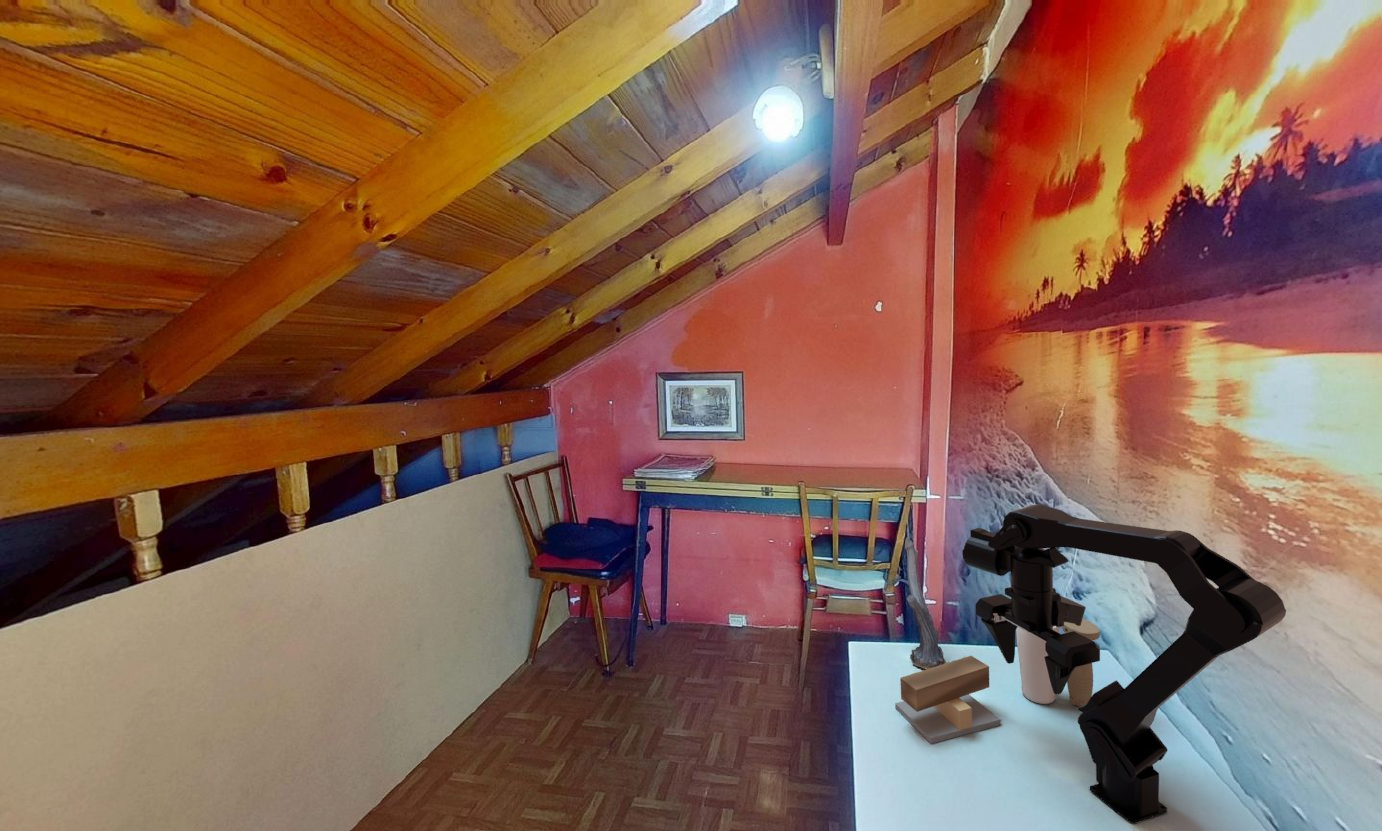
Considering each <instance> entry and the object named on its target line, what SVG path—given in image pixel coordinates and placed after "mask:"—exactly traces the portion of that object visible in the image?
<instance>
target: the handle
mask: <svg viewBox="0 0 1382 831" xmlns="http://www.w3.org/2000/svg"><path fill="white" fill-rule="evenodd" d="M1061 629H1062V630H1063V632H1064V633H1068V632H1073V631H1074V632H1076V633H1078V634H1080V635H1082V636H1084V637H1086V638H1088V639H1090V640H1092V641H1096V640H1098V639H1099V638H1100V637H1101V630H1100V629H1099V627H1098V626H1097V625H1096V624H1095V623H1093V622H1092V621H1090V620H1087V619H1085V618H1083V619H1082V623H1081V626H1077V625H1075V624H1073V623H1068V622H1064V626H1062V627H1061ZM1093 667H1094V666H1093V663H1090V664H1086V665H1082V666H1078V667H1076V668H1075V669H1074V670H1073V672H1072V673H1071V675H1070V677H1069V679H1068V681H1067V683H1066V685H1067V690H1068V694H1069V703H1071V705H1073V706H1077V707H1078V708H1079V707H1081V706H1082V705H1084V704H1086V703H1087V702H1088V701H1089V700H1090V698H1091V697H1092V695H1093V690H1094V689H1093V687H1094V670H1093V669H1094V668H1093Z"/></svg>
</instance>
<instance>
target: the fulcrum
mask: <svg viewBox="0 0 1382 831" xmlns="http://www.w3.org/2000/svg"><path fill="white" fill-rule="evenodd" d="M894 709H896V711H898V712H899V714H900V715H901V716H903V717H904V718H905V720H907V722H908V723H910V724H911V726H912V727H914V729H915V730H916V731H918V732H919V733H920V734H921V736H922V737H924V739H926V741H927V742H928V743H929V744H930V745H931V744H934V743H937V742H938V743H939V742H941V741H946V740H950V739H953V738H957V737H960V736H965V735H969V734H971V733H974V732H979V731H982V730H987V729H990V728H993V727H997V726H1000V725H1001V724H1002V723H1001V720H1002V719H1001V718H999V717H998V716H997V715H996V714H994V713H993V712H992V711H991V710H990V709H988V708H987V707H986V706H984V705H983V704H982V703H981V702H980V701H978V700H977V699H976V698H975V697H974V696H972V695H971V694H968V695H965V696H962V697H959V698H956V699H954V700H951V701H948V702H945V703H942V704H939V705H936V706H933V707H930V708H927V709H924V710H921V711H918V712H917V711H915V710H914V709H913V708H912V707H910V706H909V705H908V704H907V703H906V702H904V701H903V700H902V701H899V702H895V708H894Z"/></svg>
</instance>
